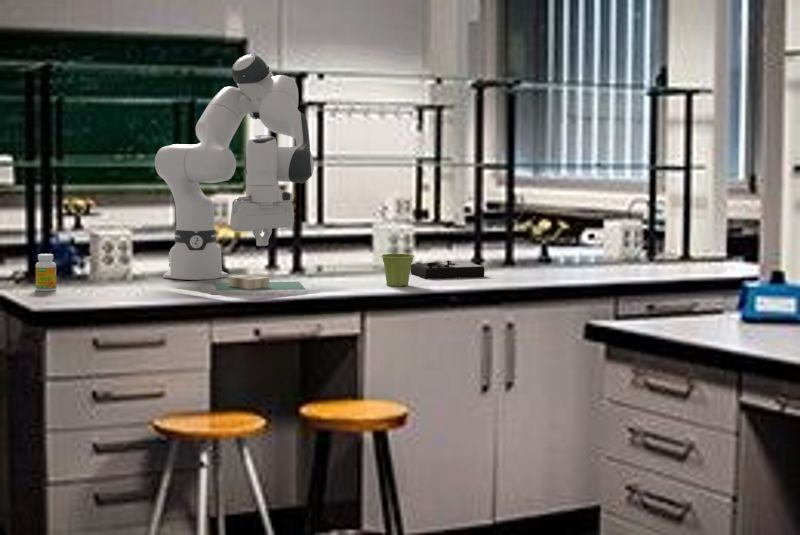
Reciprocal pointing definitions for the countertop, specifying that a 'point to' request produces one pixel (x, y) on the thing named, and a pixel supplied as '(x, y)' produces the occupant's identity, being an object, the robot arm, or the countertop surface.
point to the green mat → (271, 287)
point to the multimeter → (447, 270)
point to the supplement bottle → (45, 273)
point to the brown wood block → (248, 282)
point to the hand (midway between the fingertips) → (262, 245)
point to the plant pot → (397, 268)
